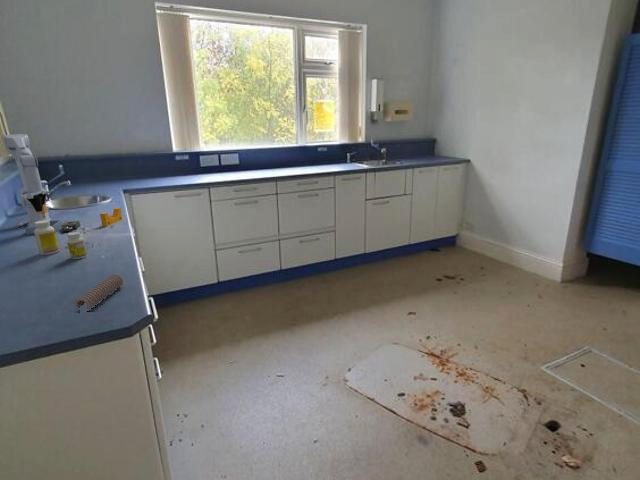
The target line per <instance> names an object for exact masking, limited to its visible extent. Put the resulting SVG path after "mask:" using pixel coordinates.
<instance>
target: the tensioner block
mask: <svg viewBox="0 0 640 480" xmlns="http://www.w3.org/2000/svg"><path fill="white" fill-rule="evenodd" d="M80 227H81V221H80V220H72V221H71V220H70V221H65V222H63V224H62V225H61V232H62V233H63V234H65V233H68V234H69V233H72V232H74V230H78V228H80Z"/></svg>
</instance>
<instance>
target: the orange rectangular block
mask: <svg viewBox="0 0 640 480" xmlns="http://www.w3.org/2000/svg"><path fill="white" fill-rule="evenodd" d="M41 205H42V211H41V212H37V213H38V214H41V215H42V218H46V217H45V213H47V212H48V213H49V211H47V210H48V207H47V204H46V203H45V204H41Z"/></svg>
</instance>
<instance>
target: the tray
mask: <svg viewBox="0 0 640 480" xmlns="http://www.w3.org/2000/svg"><path fill="white" fill-rule="evenodd" d="M49 222H50V226H51V227H53V228H54V230H55V233H56V232H57V231H58V230H60V229H62V227H61V225H62V224H63V223H64V222H63V220H62V219H57V220H56V219H55V220H50V221H49ZM36 228H37V227H36V226H35V222H34V223H33V224H31V225H27V227H25V228H24V231H25V234H26V235H27V236H28V235H35V234H34V230H35V229H36Z"/></svg>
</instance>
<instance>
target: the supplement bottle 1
mask: <svg viewBox="0 0 640 480" xmlns="http://www.w3.org/2000/svg"><path fill="white" fill-rule="evenodd" d="M35 226H36V227H37V228H36V229H35V230H34V234H33V235H34V237H35V241H36V244H37V249H38V252H39V254H40V255H42V256H49V255H54V254H57V253H58V252H60V246H59V242H58V238H57V235H56V232H55V230H54V228H53V227H51V226H50V222H49V220H42V221H37V222H35Z"/></svg>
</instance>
